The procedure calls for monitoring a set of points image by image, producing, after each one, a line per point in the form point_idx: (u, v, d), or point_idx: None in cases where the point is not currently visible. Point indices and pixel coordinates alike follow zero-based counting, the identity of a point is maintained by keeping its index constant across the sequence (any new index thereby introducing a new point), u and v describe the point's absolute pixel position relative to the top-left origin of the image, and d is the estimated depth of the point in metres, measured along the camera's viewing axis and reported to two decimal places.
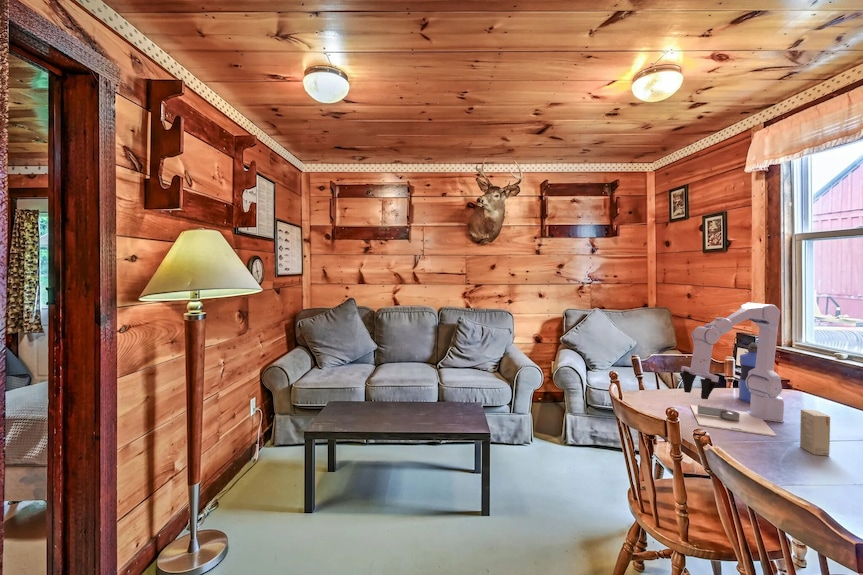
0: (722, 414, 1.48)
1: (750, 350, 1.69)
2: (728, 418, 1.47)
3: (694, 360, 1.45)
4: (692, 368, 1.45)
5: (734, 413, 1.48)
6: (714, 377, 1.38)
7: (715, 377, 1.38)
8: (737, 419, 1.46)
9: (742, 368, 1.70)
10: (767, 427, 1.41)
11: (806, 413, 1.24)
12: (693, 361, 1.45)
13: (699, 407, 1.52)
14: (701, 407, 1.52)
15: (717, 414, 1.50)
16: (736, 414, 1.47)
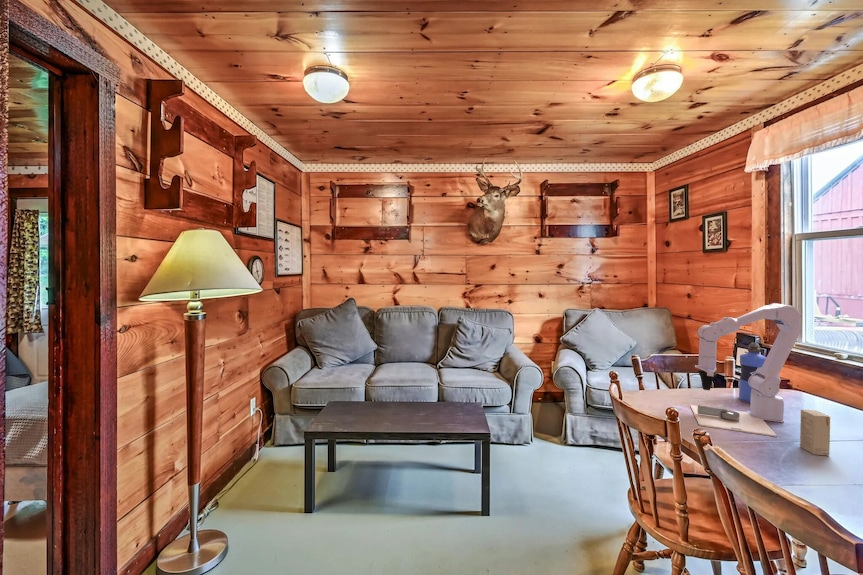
0: (722, 414, 1.48)
1: (750, 350, 1.69)
2: (728, 418, 1.47)
3: None
4: None
5: (734, 413, 1.48)
6: (708, 372, 1.50)
7: (709, 372, 1.50)
8: (737, 419, 1.46)
9: (742, 368, 1.70)
10: (767, 427, 1.41)
11: (806, 413, 1.24)
12: None
13: (699, 407, 1.52)
14: (701, 407, 1.52)
15: (717, 414, 1.50)
16: (736, 414, 1.47)
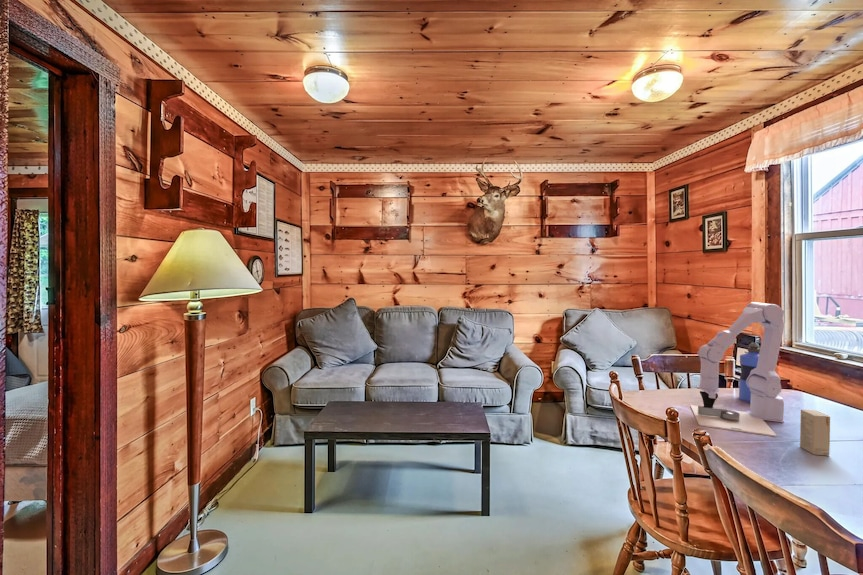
0: (723, 414, 1.48)
1: (750, 350, 1.69)
2: (729, 418, 1.46)
3: (700, 377, 1.52)
4: (700, 384, 1.53)
5: (734, 413, 1.48)
6: (710, 394, 1.45)
7: (711, 394, 1.45)
8: (737, 419, 1.46)
9: (742, 368, 1.70)
10: (767, 427, 1.41)
11: (806, 413, 1.24)
12: (700, 378, 1.53)
13: (700, 408, 1.51)
14: (702, 408, 1.51)
15: (717, 414, 1.49)
16: (736, 414, 1.47)
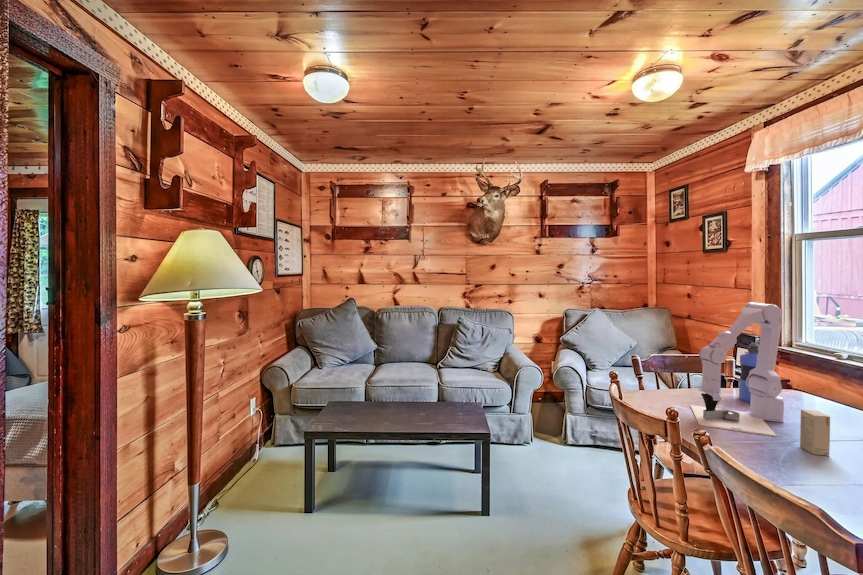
0: (727, 415, 1.47)
1: (750, 350, 1.69)
2: (733, 419, 1.46)
3: (702, 379, 1.50)
4: (702, 387, 1.51)
5: (734, 412, 1.48)
6: (714, 396, 1.43)
7: (715, 396, 1.43)
8: None
9: (742, 368, 1.70)
10: (767, 427, 1.41)
11: (806, 413, 1.24)
12: (702, 380, 1.50)
13: (707, 412, 1.47)
14: (708, 412, 1.47)
15: (721, 416, 1.48)
16: (736, 413, 1.47)
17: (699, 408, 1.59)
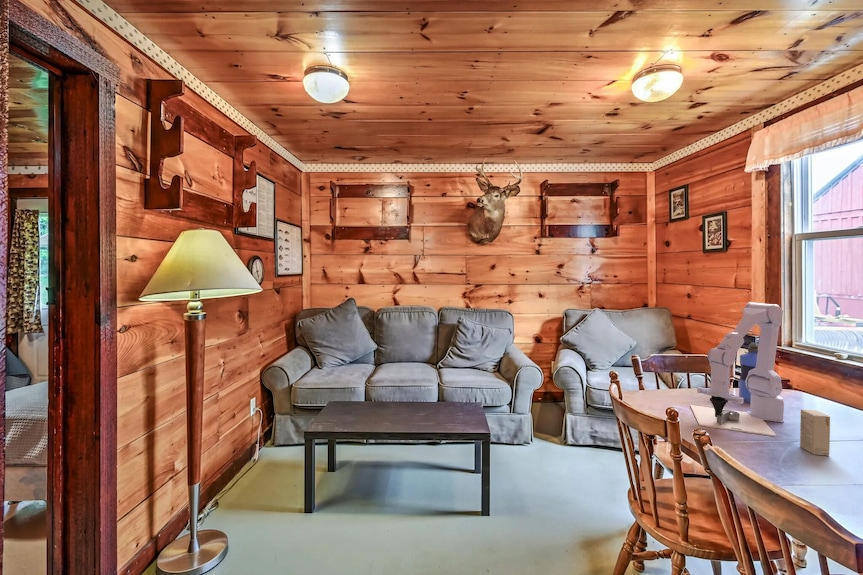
0: (732, 416, 1.46)
1: (750, 350, 1.69)
2: (737, 419, 1.46)
3: (715, 383, 1.44)
4: (714, 391, 1.44)
5: (732, 412, 1.49)
6: (741, 400, 1.39)
7: (741, 399, 1.39)
8: None
9: (742, 368, 1.70)
10: (767, 427, 1.41)
11: (806, 413, 1.24)
12: (714, 384, 1.44)
13: (721, 417, 1.43)
14: (722, 416, 1.43)
15: (727, 418, 1.46)
16: (735, 412, 1.49)
17: (699, 408, 1.59)
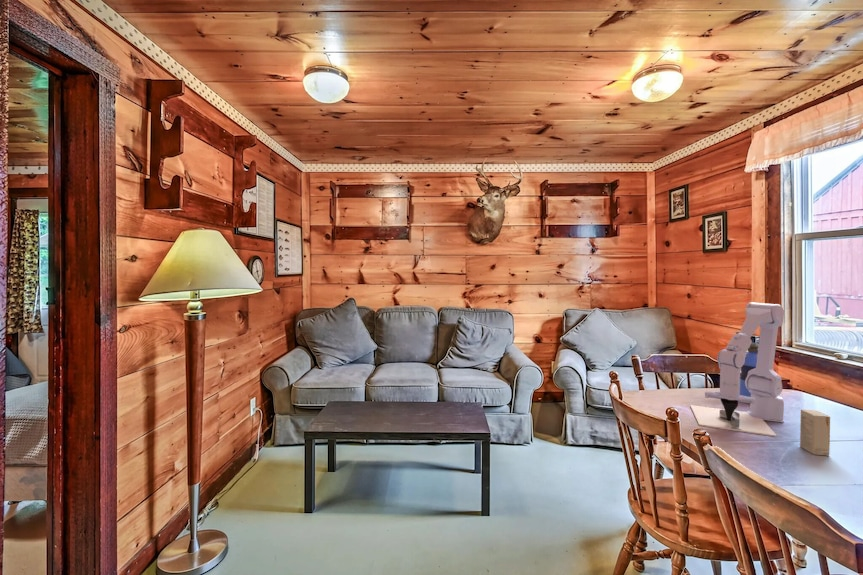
0: (736, 416, 1.46)
1: (750, 350, 1.69)
2: None
3: (730, 387, 1.40)
4: (729, 395, 1.40)
5: None
6: (755, 400, 1.38)
7: (755, 399, 1.39)
8: None
9: (742, 368, 1.70)
10: (767, 427, 1.41)
11: (806, 413, 1.24)
12: (729, 388, 1.40)
13: None
14: None
15: None
16: None
17: (699, 408, 1.59)
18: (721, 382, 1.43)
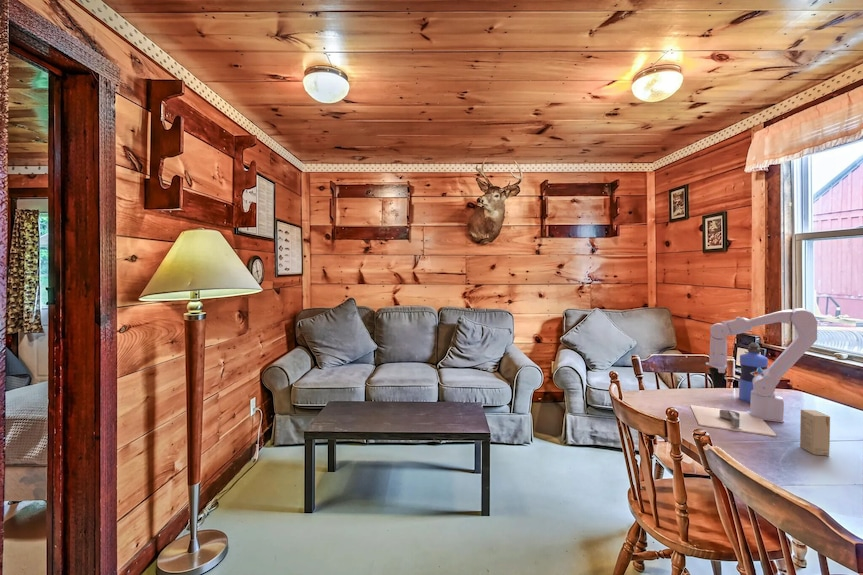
0: (736, 416, 1.46)
1: (750, 350, 1.69)
2: None
3: (709, 354, 1.60)
4: (709, 361, 1.61)
5: (729, 411, 1.50)
6: (719, 369, 1.53)
7: (720, 369, 1.53)
8: None
9: (742, 368, 1.70)
10: (767, 427, 1.41)
11: (806, 413, 1.24)
12: (709, 355, 1.61)
13: None
14: None
15: None
16: (732, 411, 1.50)
17: (699, 408, 1.59)
18: None
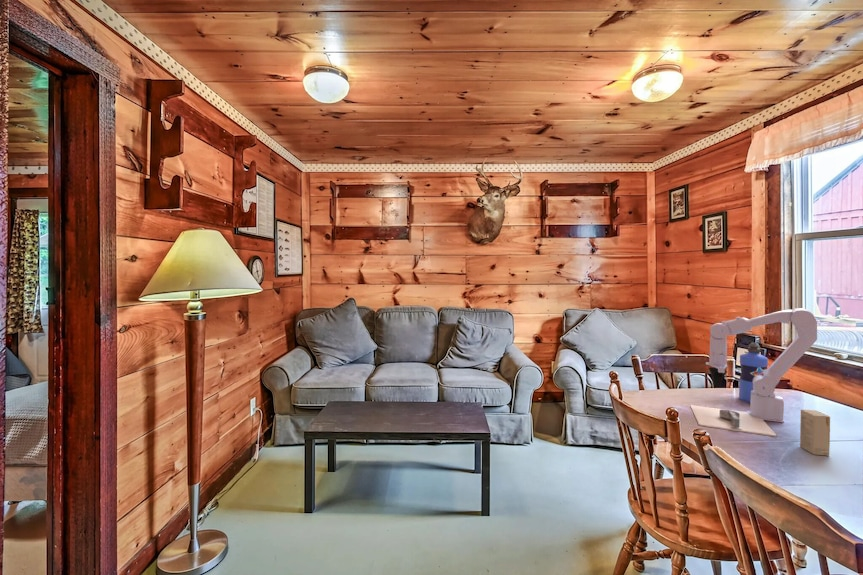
0: (736, 416, 1.46)
1: (750, 350, 1.69)
2: None
3: (709, 354, 1.60)
4: (709, 361, 1.61)
5: (729, 411, 1.50)
6: (719, 368, 1.53)
7: (720, 368, 1.53)
8: None
9: (742, 368, 1.70)
10: (767, 427, 1.41)
11: (806, 413, 1.24)
12: (709, 355, 1.61)
13: None
14: None
15: None
16: (732, 411, 1.50)
17: (699, 408, 1.59)
18: None
